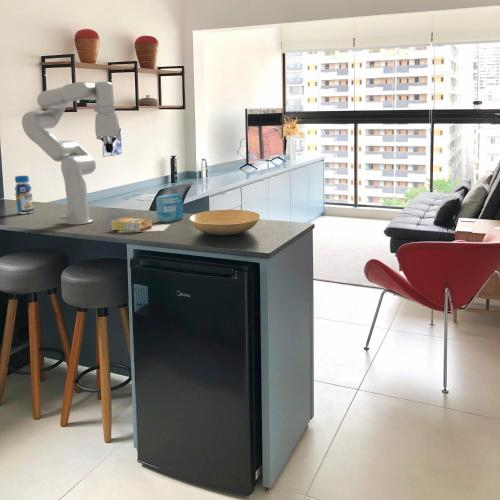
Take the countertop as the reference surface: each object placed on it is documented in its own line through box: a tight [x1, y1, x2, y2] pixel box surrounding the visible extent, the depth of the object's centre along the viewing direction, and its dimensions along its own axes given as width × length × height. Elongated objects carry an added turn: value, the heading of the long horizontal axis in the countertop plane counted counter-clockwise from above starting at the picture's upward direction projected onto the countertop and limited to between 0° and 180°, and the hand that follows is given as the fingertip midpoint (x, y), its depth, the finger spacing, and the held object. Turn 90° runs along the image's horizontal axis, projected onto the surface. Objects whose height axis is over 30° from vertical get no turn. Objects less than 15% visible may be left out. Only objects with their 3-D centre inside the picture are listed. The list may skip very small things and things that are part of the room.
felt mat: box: [117, 223, 171, 233], centre depth 261 cm, size 20×15×1 cm
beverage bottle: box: [14, 175, 35, 213], centre depth 316 cm, size 8×8×20 cm
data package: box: [155, 193, 184, 223], centre depth 278 cm, size 12×4×12 cm, turn 135°
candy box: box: [110, 217, 153, 233], centre depth 259 cm, size 9×4×15 cm
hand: (109, 152), depth 266 cm, fingers closed
